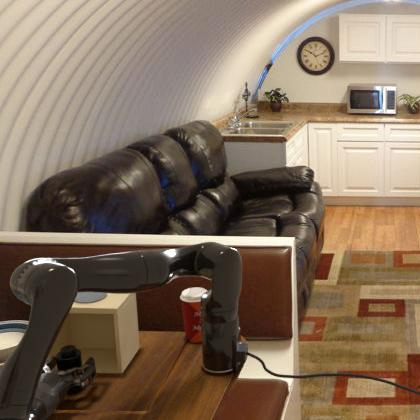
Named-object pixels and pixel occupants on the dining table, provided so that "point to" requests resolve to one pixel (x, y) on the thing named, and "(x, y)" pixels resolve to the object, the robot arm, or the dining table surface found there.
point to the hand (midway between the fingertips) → (73, 360)
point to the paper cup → (192, 313)
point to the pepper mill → (69, 363)
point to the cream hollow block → (101, 330)
